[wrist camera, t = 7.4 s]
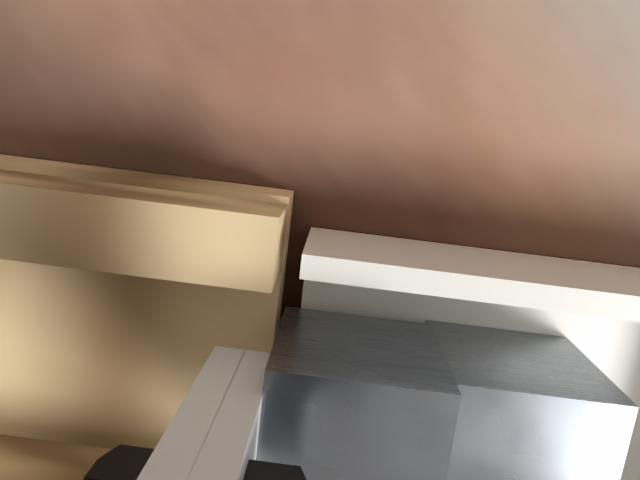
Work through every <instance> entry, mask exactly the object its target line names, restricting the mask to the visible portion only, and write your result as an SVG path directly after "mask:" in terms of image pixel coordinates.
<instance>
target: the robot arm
mask: <svg viewBox="0 0 640 480" xmlns="http://www.w3.org/2000/svg"><path fill="white" fill-rule="evenodd" d="M269 356H270V353H267V352H259V351H252V350H244V349H236V348H228V347H220V346H215V347H214V349H213V351H212V353H211V354H210V356H209V358H208V359H207V361H206V363H205V364H204V366H203V368H202V370H201V371H200V373H199V375H198V376H197V378H196V380H195V381H194V383H193V385H192V386H191V388H190V390H189V392H188V393H187V395H186V397H185V398H184V400H183V402H182V403H181V405H180V407H179V408H178V410H177V412H176V414H175V415H174V417H173V419H172V420H171V422H170V424H169V425H168V427H167V429H166V430H165V432H164V434H163V436H162V437H161V439H160V441H159V442H158V444H157V446H156V447H155V449H152V448H144V447H137V446H129V445H121V444H120V445H118V446H117V447H115V448H113V449H112V450H110V451H109V452H107V453H106V454H104V455H103V456H101V457H100V458H98V459H97V460H96V462H95V463H94V464H93V466H92V467H91V468H90V470H89V471H88V472H87V474H86V475H85V476H84V479H83V480H307V479H306V477H305V475H304V473H303V471H302V469H301V467H300V466H296V465H288V464H281V463H273V462H265V461H258V460H256V454H257V444H258V434H259V423H260V413H261V403H262V393H263V383H264V373H265V368H266V365H267V362H268V359H269Z"/></svg>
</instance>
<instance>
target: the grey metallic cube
mask: <svg viewBox="0 0 640 480" xmlns="http://www.w3.org/2000/svg"><path fill="white" fill-rule="evenodd" d="M461 396H462V395H461V392H460V390H459V388H458V385H457V383H456V381H455V378H454V376H453V373H452V371H451V369H450V366H449V364H448V362H447V359H446V357H445V355H444V352H443V350H442V348H441V345H440V343H439V340H438V338H437V336H436V333H435V331H434V329H433V326H432V324H425V323H417V322H409V321H400V320H392V319H384V318H376V317H368V316H360V315H352V314H344V313H336V312H328V311H320V310H312V309H304V308H296V307H288V306H286V307H285V310H284V313H283V316H282V319H281V322H280V325H279V328H278V331H277V334H276V337H275V340H274V343H273V347H272V350H271V353H270V356H269V359H268V362H267V365H266V368H265V373H264V383H263V393H262V403H261V413H260V423H259V434H258V444H257V454H256V460H258V461H265V462H273V463H281V464H288V465H296V466H300V467H301V469H302V471H303V473H304V475H305V477H306V479H307V480H446V478H447V473H448V467H449V462H450V456H451V451H452V445H453V440H454V434H455V429H456V424H457V418H458V413H459V407H460V402H461Z"/></svg>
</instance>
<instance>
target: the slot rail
mask: <svg viewBox="0 0 640 480" xmlns="http://www.w3.org/2000/svg"><path fill="white" fill-rule="evenodd" d="M293 197H294V190H287V189H279V188H270V187H262V186H254V185H246V184H238V183H230V182H222V181H214V180H205V179H197V178H189V177H181V176H173V175H165V174H157V173H149V172H140V171H132V170H124V169H116V168H108V167H100V166H92V165H83V164H75V163H67V162H59V161H51V160H43V159H35V158H27V157H18V156H10V155H2V154H0V480H83V479H84V476H85V475H86V474H87V472H88V471H89V470H90V468H91V467H92V466H93V464H94V463H95V462H96V460H97V459H98V458H100V457H101V456H103V455H104V454H106V453H107V452H109V451H110V450H112V449H113V448H115V447H117V446H118V445H120V444H121V445H129V446H137V447H144V448H152V449H155V447H156V446H157V444H158V442H159V441H160V439H161V437H162V436H163V434H164V432H165V430H166V429H167V427H168V425H169V424H170V422H171V420H172V419H173V417H174V415H175V414H176V412H177V410H178V408H179V407H180V405H181V403H182V402H183V400H184V398H185V397H186V395H187V393H188V392H189V390H190V388H191V386H192V385H193V383H194V381H195V380H196V378H197V376H198V375H199V373H200V371H201V370H202V368H203V366H204V364H205V363H206V361H207V359H208V358H209V356H210V354H211V353H212V351H213V349H214V347H215V346H220V347H228V348H236V349H244V350H252V351H259V352H267V353H271V350H272V347H273V343H274V340H275V337H276V334H277V331H278V328H279V325H280V317H281V308H282V299H283V290H284V280H285V271H286V262H287V253H288V243H289V234H290V225H291V216H292V206H293Z"/></svg>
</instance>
